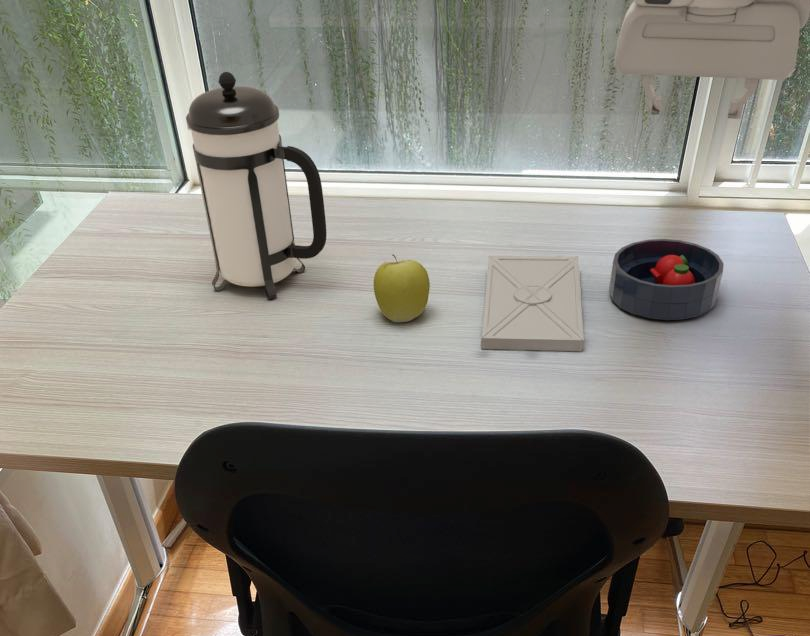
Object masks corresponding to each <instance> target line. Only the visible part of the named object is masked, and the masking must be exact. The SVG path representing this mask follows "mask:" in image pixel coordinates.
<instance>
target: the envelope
mask: <svg viewBox="0 0 810 636" xmlns="http://www.w3.org/2000/svg"><path fill="white" fill-rule="evenodd" d="M485 282H486V284H485V295H484V304H483V305H484V306H483V315H482V317H483V318H482V328H481V339H480V340H481V342H480V345H481V346H480V348H481V349H482V350H511V351H513V350H515V351H551V352H553V351H554V352H555V351H557V352H583V350H584V326H583V325H584V324H583V322H584V321H583V311H582V309H583V308H582V293H581V277H580V262H579V256H560V255H559V256H558V255H557V256H550V255H549V256H548V255H547V256H546V255H541V256H540V255H489V256H488V262H487V273H486V281H485Z"/></svg>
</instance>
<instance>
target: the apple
mask: <svg viewBox="0 0 810 636" xmlns="http://www.w3.org/2000/svg"><path fill="white" fill-rule="evenodd" d="M392 256H393V257H394V259H395V260H396V261H385V262H383V263H382V264H380V265H379V266H378V268H376V271H375V273H374V277H373V293H374V297H375V300H376V304H377V306H378V308H379V311H380V312H381V314H382V315H384V317H386V318H387V319H388V320H390V321H392V322H393V323H406V322H407V323H408V322H410V321H413V320H414V319H416V318H417V317H418V316H420V315H421V314H422V313H423V312H424V311H425V309H426V307H427V305H428V302H429V295H430V287H431V286H430V284H431V283H430V282H431V281H430V278H429V277H430V276H429V273H428V272H427V269H426V268H425V267H424V265H422V263H420V262H419V261H417V260H414V259H407V260H400V261H397V257H396V255H394V254H392Z"/></svg>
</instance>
